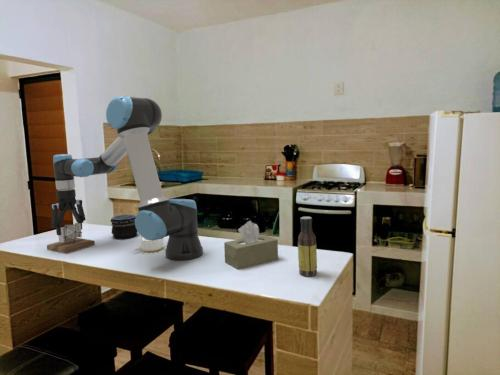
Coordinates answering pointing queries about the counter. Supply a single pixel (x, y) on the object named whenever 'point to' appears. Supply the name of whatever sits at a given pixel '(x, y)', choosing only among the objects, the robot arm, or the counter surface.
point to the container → (124, 226)
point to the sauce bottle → (307, 248)
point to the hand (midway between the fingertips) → (70, 239)
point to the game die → (70, 232)
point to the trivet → (70, 245)
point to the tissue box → (250, 248)
